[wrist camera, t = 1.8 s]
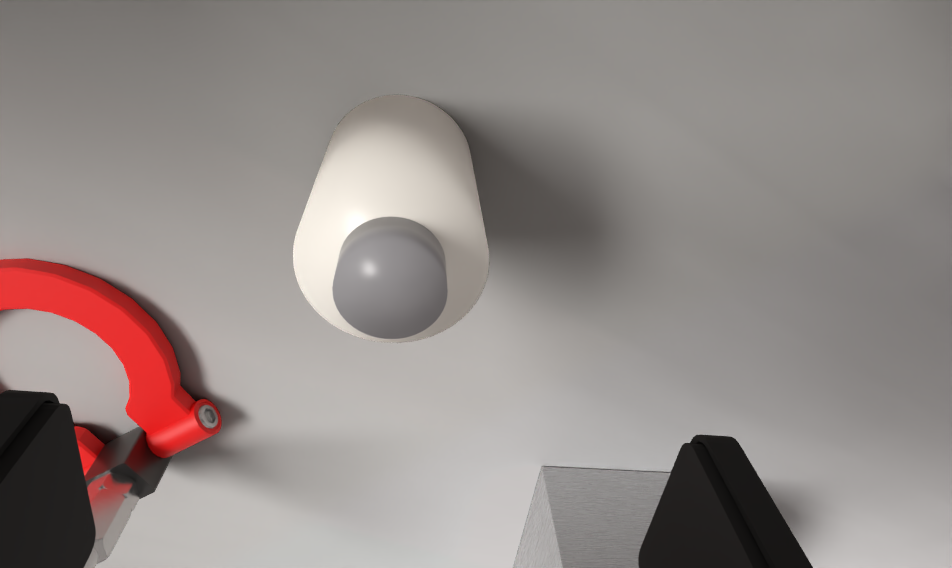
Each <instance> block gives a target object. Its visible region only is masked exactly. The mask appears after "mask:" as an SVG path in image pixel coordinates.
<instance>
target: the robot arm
mask: <svg viewBox="0 0 952 568" xmlns="http://www.w3.org/2000/svg"><path fill="white" fill-rule="evenodd" d="M95 537H96V528H95V523H94V518H93V513H92V509H91V504H90V499H89V495H88V490H87V485H86V480H85V476H84V471H83V466H82V462H81V457H80V452H79V447H78V443H77V438H76V433H75V429H74V424H73V419H72V415H71V411H70V408H69V406H68V405H67V404H60V403H59V401H58V398H57V396H56V395H55V394H54V393H47V392H31V391H16V390H8V391H5V392H3V393H2V394H1V395H0V568H84V566H85V564H86V562H87V560H88V558H89V557H90V554H91V552H92V549H93V546H94V542H95ZM638 565H639V568H813V567H812V565H811V564H810V562H809V560H808V559H807V557H806V555H805V554H804V552H803V550H802V548H801V547H800V545H799V543H798V542H797V540H796V538H795V537H794V535H793V534H792V532H791V530H790V528H789V527H788V525H787V523H786V522H785V520H784V518H783V517H782V515H781V513H780V512H779V510H778V508H777V507H776V505H775V503H774V502H773V500H772V498H771V497H770V495H769V493H768V491H767V490H766V488H765V486H764V485H763V483H762V481H761V480H760V478H759V476H758V475H757V473H756V471H755V470H754V468H753V466H752V465H751V463H750V461H749V460H748V458H747V456H746V454H745V453H744V451H743V449H742V448H741V446H740V444H739V443H738V442H737V441H736V439H734V438H732V437H728V436H712V435H696V436H695V437H693V439H692V441H691V442H690V443H685V444H683V445H682V447H681V449H680V451H679V454H678V456H677V459H676V461H675V464H674V466H673V469H672V471H671V474H670V476H669V479H668V481H667V484H666V486H665V488H664V491H663V493H662V496H661V498H660V501H659V503H658V506H657V508H656V511H655V513H654V516H653V518H652V521H651V523H650V526H649V528H648V530H647V533H646V535H645V538H644V540H643V543H642V545H641V548H640V551H639V557H638Z"/></svg>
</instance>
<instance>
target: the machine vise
mask: <svg viewBox="0 0 952 568" xmlns="http://www.w3.org/2000/svg"><path fill="white" fill-rule="evenodd" d="M670 474H671V473H662V472H641V471H621V470H601V469H580V468H560V467H542V468H541V471H540V475H539V478H538V482H537V485H536V489H535V492H534V496H533V499H532V503H531V507H530V510H529V514H528V517H527V521H526V524H525V528H524V531H523V535H522V538H521V542H520V546H519V549H518V553H517V556H516V560H515V563H514V567H513V568H639V565H638V557H639V551H640V548H641V545H642V543H643V540H644V538H645V535H646V533H647V530H648V528H649V526H650V523H651V521H652V518H653V516H654V513H655V511H656V508H657V506H658V503H659V501H660V498H661V496H662V493H663V491H664V488H665V486H666V484H667V481H668V479H669V476H670Z"/></svg>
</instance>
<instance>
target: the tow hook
mask: <svg viewBox="0 0 952 568" xmlns="http://www.w3.org/2000/svg"><path fill="white" fill-rule="evenodd" d="M6 309H33V310H39V311H45V312H51V313H54V314H57V315H60V316H62V317H65V318H68V319H70V320H73V321H75V322H77V323H79V324H81V325H82V326H84V327H86V328H87V329H89V330H91V331H92V332H94V333H96V334H97V335H98V336H99V337H100V338H101V339H102V340H103V341H104V342H106V343H107V344H108V345H109V346H110V347H111V348H112V349H113V351H114V352H115V353H116V355H117V356H118V358H119V359H120V361H121V362H122V363H123V365H124V368H125V371H126V373H127V376H128V379H129V394H130V398H129V400H128V403H127V406H126V408H125V409H126V412H127V415H128V416H129V417H130V418H131V419H132V420H133V421H135V422H136V423H137V424H138V425H139V426H140V427H138V428H136V429H134V430H132V431H130V432H128V433H126V434H124V435H122V436H120V437H118V438H116V439H114V440H112V441H110V442H108V443H107V444H106V445H104V444H103V443H102V442H101V441H100V440H99V439H98V438H96V437H95V436H94V435H93V434H92V433H91V432H90V431H88V430H87V429H86V428H82V427H79V426H74V429H75V433H76V438H77V443H78V447H79V452H80V457H81V462H82V466H83V471H84V476H85V480H86V485H87V490H88V495H89V499H90V504H91V509H92V513H93V518H94V523H95V528H96V537H95V542H94V546H93V549H92V552H91V554H90V557H89V558H88V560H87V562H86V564H85V566H84V568H95V566H96V564H98V563H100V562H102V561H104V560H106V559H107V558H108V557H109V556H110V554H111V553H112V551H113V549H114V547H115V545H116V543H117V541H118V539H119V537H120V535H121V533H122V531H123V529H124V528H125V526H126V524H127V522H128V520H129V518H130V515H131V512H132V511H133V510H134V508H135V506H136V504H137V502H138V500H139V499H141V498H143V497H145V496H147V495H149V494H151V493H153V492H155V490H156V488H157V486H158V484H159V482H160V480H161V478H162V476H163V474H164V472H165V470H166V468H167V466H168V464H169V462H170V460H171V458H172V456H173V455H174V454H176V453H178V452H180V451H182V450H184V449H186V448H188V447H190V446H192V445H194V444H196V443H198V442H200V441H203V440H205V439H207V438H209V437H211V436H213V435H215V434H216V433H218V432H219V431H220V429H221V422H222V421H221V416H220V413H219V411H218V409H217V408H216V406H215V405H214V404H213V403H212V402H210V401H208V400H206V399H200V400H198V401H195V400H194V399H193V398H192V397H191V396H190V395H189V394H188V393H187V392H186V391H185V390H184V389H183V388H182V387H181V386H180V374H181V373H180V370H179V367H178V363H177V360H176V357H175V353H174V350H173V347H172V346H171V344H170V343H169V341H168V340H167V338H166V336H165V335H164V333H163V332H162V330H161V329H160V327H159V325H158V324H157V322H156V321H155V320H154V319H153V318H152V317H150V316H149V315H148V314H147V313H146V312H145V311H144V310H143V309H142V308H141V307H140V306H139V305H138V304H137V303H136V302H135V301H134V300H133V299H132V298H130V297H129V296H127V295H125V294H124V293H122V292H121V291H119V290H117V289H116V288H114V287H113V286H111V285H110V284H108V283H106V282H105V281H103V280H102V279H100V278H97V277H94V276H92V275H89V274H87V273H84V272H82V271H79V270H76V269H74V268H71V267H69V266H66V265H62V264H56V263H50V262H45V261H39V260H33V259H28V258H27V259H4V260H0V311H1V310H6Z"/></svg>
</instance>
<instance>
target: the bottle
mask: <svg viewBox="0 0 952 568" xmlns="http://www.w3.org/2000/svg"><path fill="white" fill-rule="evenodd" d="M293 265H294V270H295V275H296V279H297V281H298V284H299V286H300V289H301V290H302V292H303V294H304V296H305V298H306V299H307V300H308V302H309V303H310V304H311V306H312V307H313V308H314V309H315V310H316V311H317V312H318V313H319V314H320V315H321V316H322V317H323V318H324V319H326V320H327V321H328V322H329V323H331V324H332V325H334V326H336V327H337V328H339V329H340V330H342V331H345V332H347V333H349V334H351V335H354V336H357V337H359V338H362V339H367V340H371V341H377V342H384V343H402V342H411V341H416V340H421V339H425V338H428V337H431V336H434V335H436V334H438V333H440V332H443V331H444V330H446V329H448V328H450V327H451V326H453V325H454V324H456V323H457V322H458V321H460V320H461V319H462V318H463V317H464V316H465V315H466V314H467V313H468V312H469V311H470V310H471V309H472V307H473V306H474V305H475V304H476V302H477V300H478V299H479V297H480V295H481V294H482V291H483V289H484V286H485V284H486V280H487V277H488V272H489V249H488V243H487V238H486V233H485V228H484V222H483V217H482V212H481V206H480V201H479V196H478V190H477V185H476V180H475V175H474V169H473V164H472V159H471V154H470V149H469V146H468V143H467V140H466V138H465V136H464V134H463V132H462V130H461V129H460V127H459V126H458V124H457V123H456V122H455V121H454V120H453V119H452V118H451V117H450V116H449V115H448V114H447V113H446V112H445V111H443V110H442V109H441V108H439V107H437V106H436V105H434V104H432V103H430V102H428V101H426V100H423V99H420V98H417V97H412V96H407V95H387V96H382V97H377V98H374V99H371V100H368V101H366V102H364V103H362V104H360V105H358V106H357V107H355V108H354V109H353V110H351V111H350V112H349V113H348V114H347V115H346V116H345V117H344V118H343V119H342V120H341V122H340V123H339V124H338V125H337V127H336V129H335V131H334V132H333V135H332V137H331V140H330V142H329V145H328V148H327V150H326V153H325V156H324V159H323V161H322V164H321V167H320V170H319V172H318V175H317V178H316V181H315V183H314V186H313V189H312V192H311V194H310V197H309V200H308V202H307V205H306V208H305V211H304V213H303V216H302V219H301V222H300V224H299V227H298V230H297V233H296V237H295V241H294V247H293Z"/></svg>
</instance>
